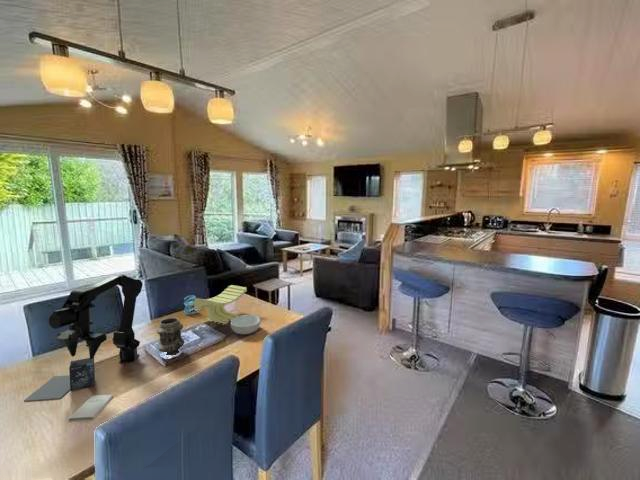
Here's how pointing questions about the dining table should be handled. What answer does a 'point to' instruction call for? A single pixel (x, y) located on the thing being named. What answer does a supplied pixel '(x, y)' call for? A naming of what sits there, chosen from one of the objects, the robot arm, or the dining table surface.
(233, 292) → the slatted curved stool
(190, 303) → the blue patterned cup
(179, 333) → the apothecary jar
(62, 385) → the mat
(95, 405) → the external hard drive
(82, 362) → the box
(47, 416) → the dining table surface
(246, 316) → the cereal bowl
